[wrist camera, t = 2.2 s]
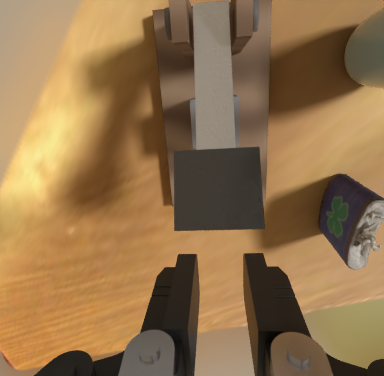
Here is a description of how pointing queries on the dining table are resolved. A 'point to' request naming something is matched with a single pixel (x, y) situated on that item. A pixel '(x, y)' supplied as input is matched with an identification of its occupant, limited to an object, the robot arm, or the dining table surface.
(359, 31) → the cup
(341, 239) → the flask
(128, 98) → the dining table surface
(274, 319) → the robot arm
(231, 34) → the frame
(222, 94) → the lever
